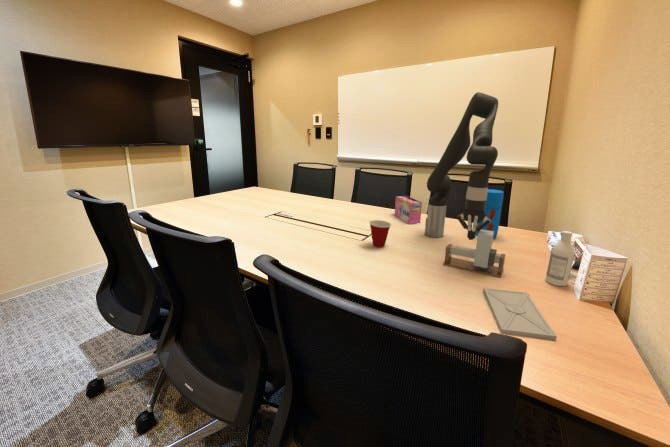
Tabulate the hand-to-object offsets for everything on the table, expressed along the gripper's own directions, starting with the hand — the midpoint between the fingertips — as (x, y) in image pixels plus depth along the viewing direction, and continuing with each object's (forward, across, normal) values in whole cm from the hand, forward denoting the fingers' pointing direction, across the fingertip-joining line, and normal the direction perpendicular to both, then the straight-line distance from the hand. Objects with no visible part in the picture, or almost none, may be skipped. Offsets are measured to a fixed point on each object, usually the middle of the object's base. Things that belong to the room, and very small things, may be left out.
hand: (470, 239), depth 128 cm
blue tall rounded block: (+12, 0, -47) cm, 49 cm away
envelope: (+13, -20, +29) cm, 38 cm away
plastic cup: (+12, +42, -2) cm, 44 cm away
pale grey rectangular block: (+10, -5, 0) cm, 11 cm away
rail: (+12, -2, 0) cm, 12 cm away
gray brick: (+9, -9, 0) cm, 12 cm away
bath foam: (+12, -31, -3) cm, 34 cm away
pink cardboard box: (+12, +48, -57) cm, 76 cm away
